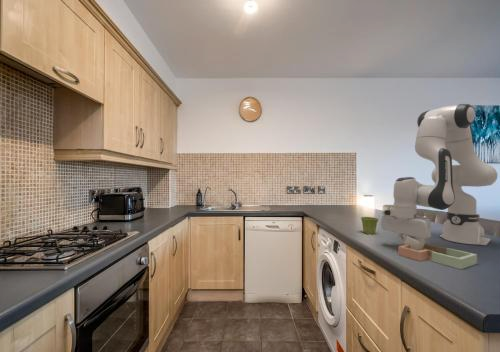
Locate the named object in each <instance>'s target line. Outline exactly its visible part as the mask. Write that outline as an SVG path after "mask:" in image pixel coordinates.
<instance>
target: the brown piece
mask: <svg viewBox="0 0 500 352" xmlns="http://www.w3.org/2000/svg"><path fill="white" fill-rule="evenodd" d="M400 244H401V243H400ZM403 245H407V244H401V245H400V246H403ZM408 246H409V249H410V245H408ZM446 248H447V247H443V246H439V245H434V244H430V243H429V244H428V243H426V242H425V244H424V247H423V249H422V250H428V259H427V260H430V261H431V260H432V252H437V253H441V254H445V255H446Z"/></svg>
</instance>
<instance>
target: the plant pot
mask: <svg viewBox="0 0 500 352" xmlns="http://www.w3.org/2000/svg"><path fill="white" fill-rule="evenodd" d="M360 219H361V223H362V229H363V230H362V231H363V233H364V234H367V235H374V234H376V230H377V224H378V221H379V217H378V218H377V217H372V216H361V217H360Z"/></svg>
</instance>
